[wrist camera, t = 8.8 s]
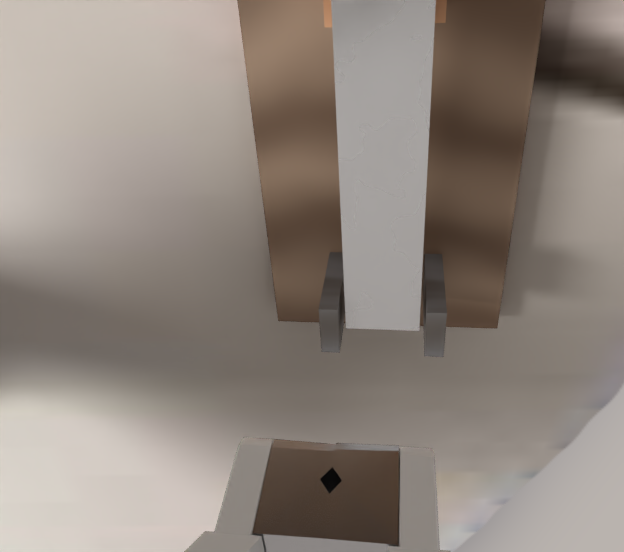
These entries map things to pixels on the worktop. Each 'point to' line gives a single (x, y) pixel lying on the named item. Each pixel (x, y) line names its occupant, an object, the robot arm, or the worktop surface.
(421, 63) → the latch lever
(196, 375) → the worktop surface
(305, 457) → the robot arm
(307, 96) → the latch base
